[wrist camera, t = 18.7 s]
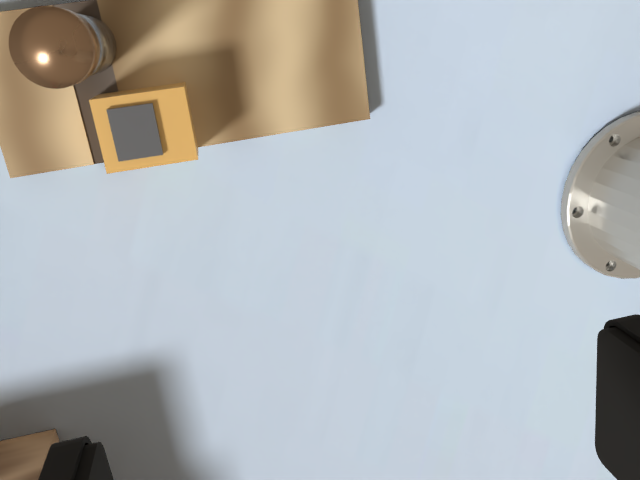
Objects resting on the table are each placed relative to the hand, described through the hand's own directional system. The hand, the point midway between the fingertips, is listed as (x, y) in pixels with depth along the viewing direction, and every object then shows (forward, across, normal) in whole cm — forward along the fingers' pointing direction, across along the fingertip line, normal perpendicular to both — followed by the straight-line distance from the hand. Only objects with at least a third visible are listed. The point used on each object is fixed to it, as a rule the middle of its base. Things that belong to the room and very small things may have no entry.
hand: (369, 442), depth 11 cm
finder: (+29, +5, -3) cm, 30 cm away
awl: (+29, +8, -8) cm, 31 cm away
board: (+30, +3, -6) cm, 31 cm away
